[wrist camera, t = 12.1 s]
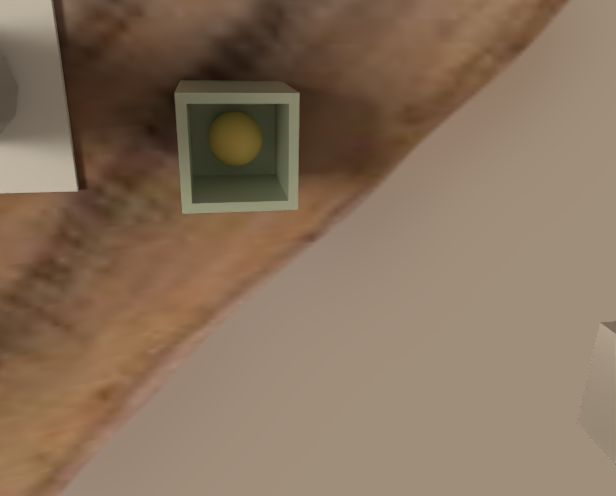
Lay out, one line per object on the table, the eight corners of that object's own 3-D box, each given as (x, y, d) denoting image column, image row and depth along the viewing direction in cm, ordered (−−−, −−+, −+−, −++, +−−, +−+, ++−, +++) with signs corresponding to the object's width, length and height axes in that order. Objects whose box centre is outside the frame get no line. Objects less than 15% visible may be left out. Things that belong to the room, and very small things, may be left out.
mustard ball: (206, 107, 38) (206, 115, 34) (259, 107, 38) (264, 115, 35) (209, 160, 39) (209, 172, 36) (259, 159, 39) (265, 171, 36)
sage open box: (180, 80, 38) (174, 92, 30) (281, 80, 39) (299, 93, 32) (186, 180, 40) (182, 213, 33) (281, 177, 41) (297, 209, 34)
